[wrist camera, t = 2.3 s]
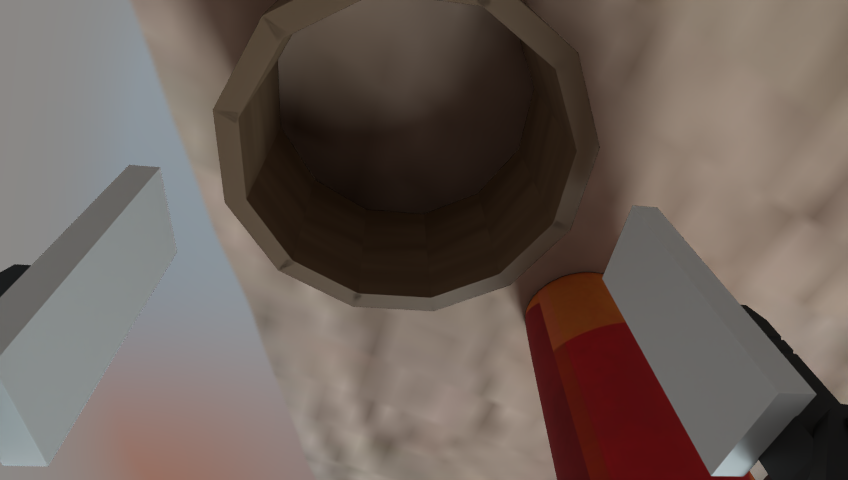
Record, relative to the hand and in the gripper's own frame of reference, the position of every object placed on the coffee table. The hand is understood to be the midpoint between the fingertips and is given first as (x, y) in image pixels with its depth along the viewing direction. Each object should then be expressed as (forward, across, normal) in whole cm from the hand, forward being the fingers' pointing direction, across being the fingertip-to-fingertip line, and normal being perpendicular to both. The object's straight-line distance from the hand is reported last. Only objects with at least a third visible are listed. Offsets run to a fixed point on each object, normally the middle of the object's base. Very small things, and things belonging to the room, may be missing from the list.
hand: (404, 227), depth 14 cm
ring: (+8, 0, 0) cm, 9 cm away
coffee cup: (+9, +11, -10) cm, 18 cm away
